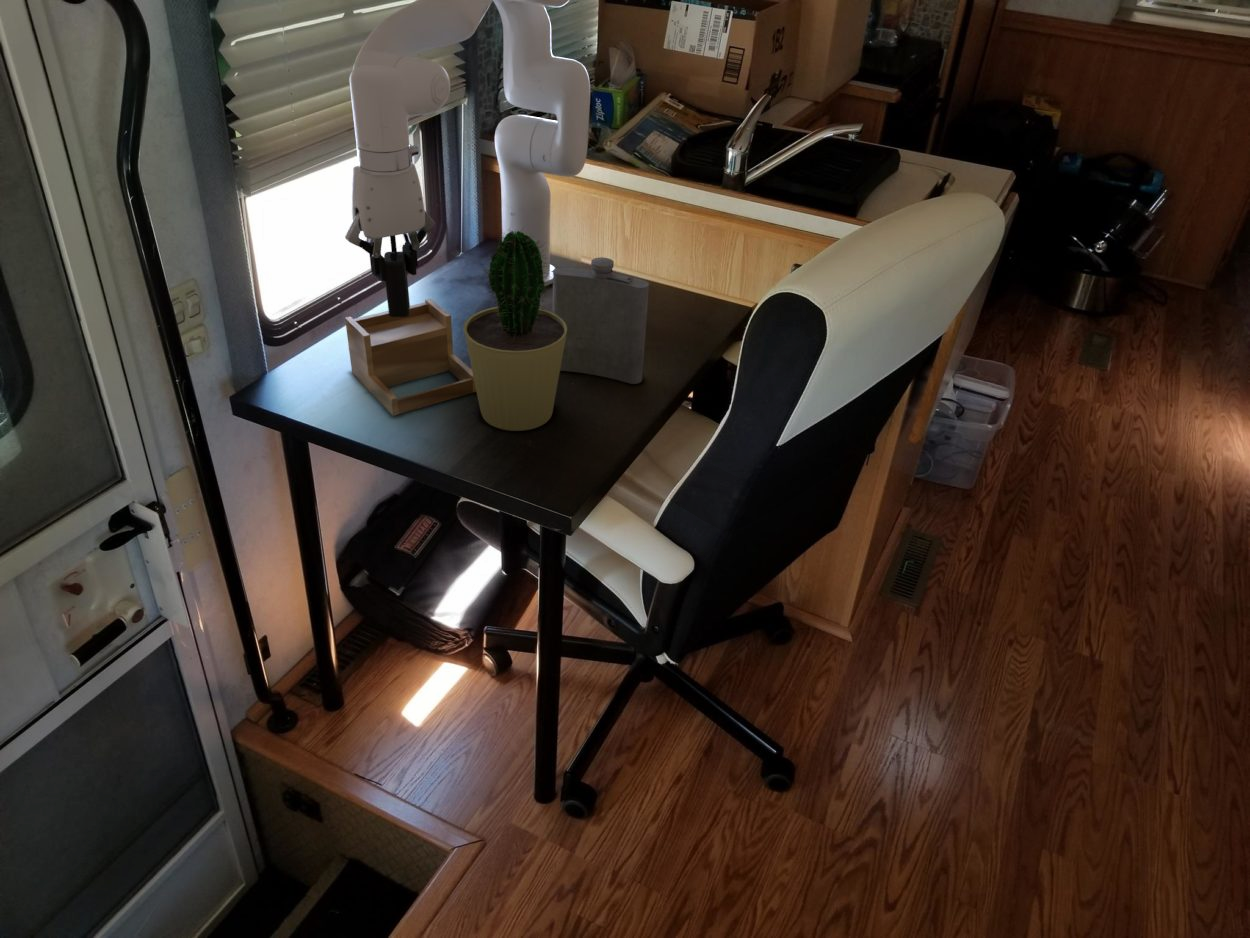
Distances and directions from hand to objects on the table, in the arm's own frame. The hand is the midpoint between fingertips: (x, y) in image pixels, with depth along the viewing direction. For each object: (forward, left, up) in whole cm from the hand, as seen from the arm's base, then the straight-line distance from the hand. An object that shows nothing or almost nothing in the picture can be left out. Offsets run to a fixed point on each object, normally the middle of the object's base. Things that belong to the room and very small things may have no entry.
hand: (395, 274), depth 146 cm
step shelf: (+4, 0, -17) cm, 18 cm away
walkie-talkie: (0, 0, -7) cm, 7 cm away
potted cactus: (+21, +9, -18) cm, 29 cm away
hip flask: (+17, +28, -18) cm, 37 cm away
